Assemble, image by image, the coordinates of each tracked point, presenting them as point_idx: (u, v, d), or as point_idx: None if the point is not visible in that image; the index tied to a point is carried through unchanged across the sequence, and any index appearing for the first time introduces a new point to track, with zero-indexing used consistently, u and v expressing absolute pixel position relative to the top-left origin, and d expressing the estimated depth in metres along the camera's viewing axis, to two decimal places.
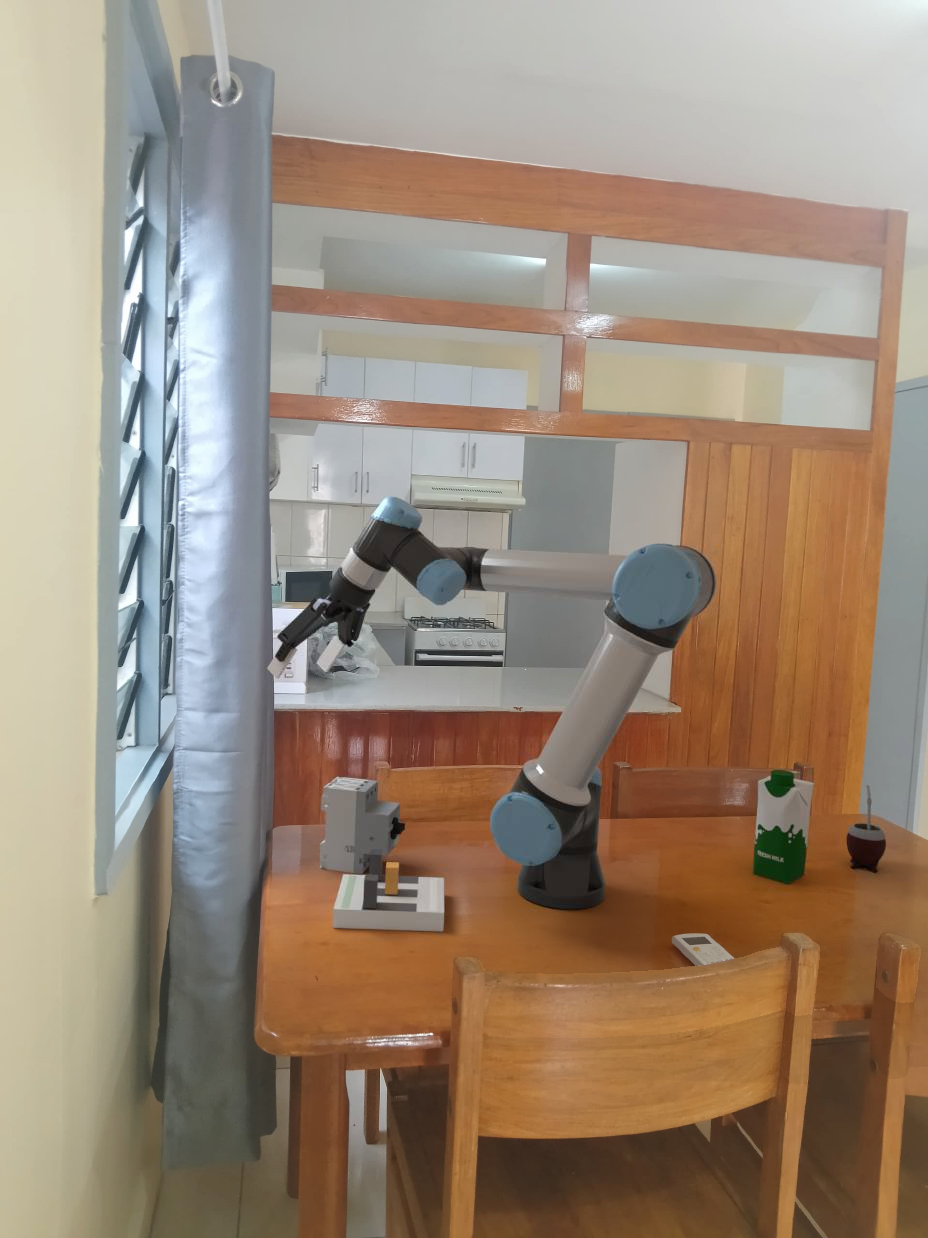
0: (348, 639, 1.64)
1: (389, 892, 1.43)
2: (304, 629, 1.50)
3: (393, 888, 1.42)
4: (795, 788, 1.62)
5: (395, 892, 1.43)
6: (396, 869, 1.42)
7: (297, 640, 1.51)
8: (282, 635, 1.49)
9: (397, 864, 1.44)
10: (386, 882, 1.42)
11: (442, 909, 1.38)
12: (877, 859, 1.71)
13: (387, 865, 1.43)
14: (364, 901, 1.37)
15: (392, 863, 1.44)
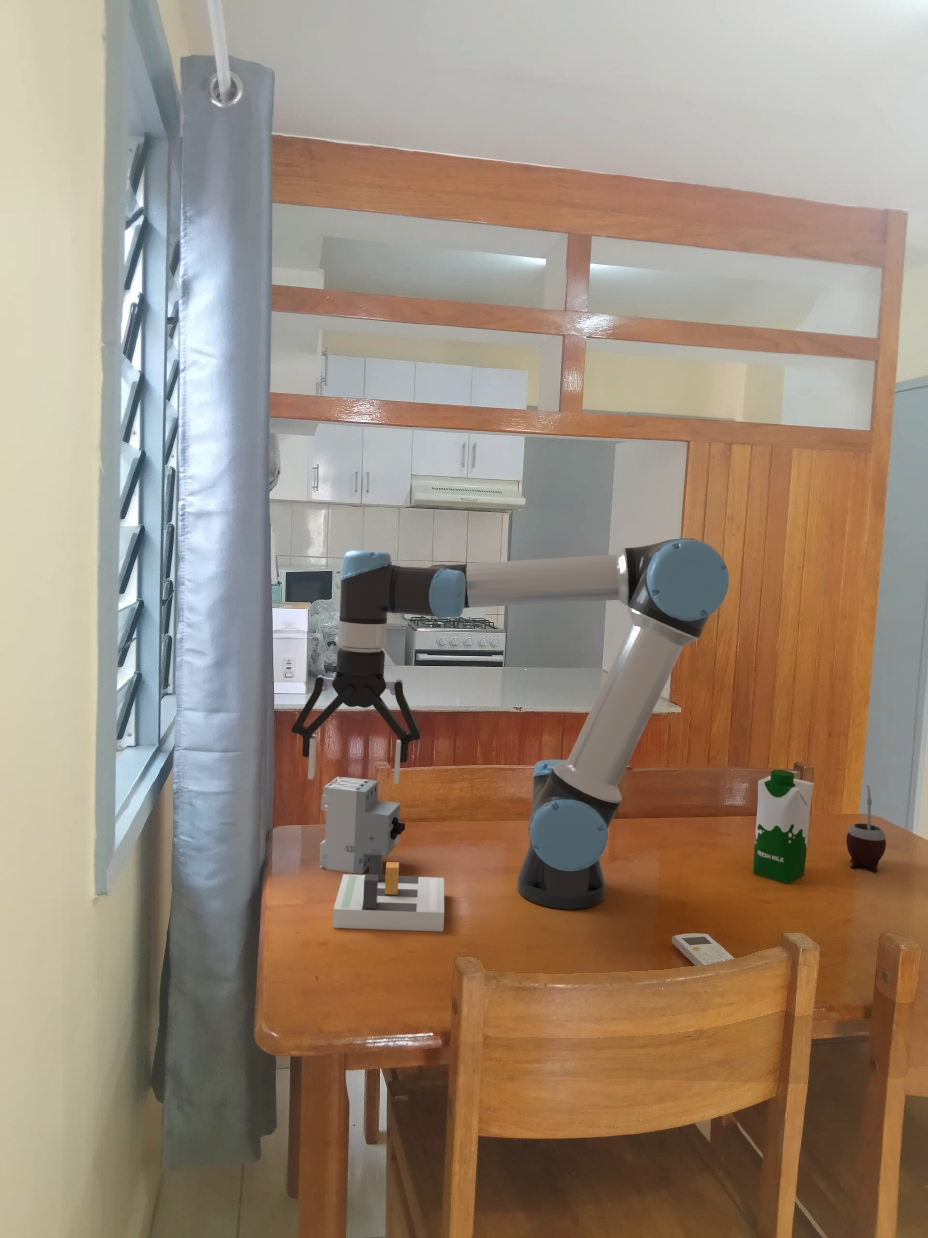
0: (401, 734, 1.41)
1: (389, 892, 1.43)
2: (306, 710, 1.40)
3: (393, 888, 1.42)
4: (795, 788, 1.62)
5: (395, 892, 1.43)
6: (396, 869, 1.42)
7: (308, 726, 1.41)
8: None
9: (397, 864, 1.44)
10: (386, 882, 1.42)
11: (442, 909, 1.38)
12: (877, 859, 1.71)
13: (387, 865, 1.43)
14: (364, 901, 1.37)
15: (392, 863, 1.44)
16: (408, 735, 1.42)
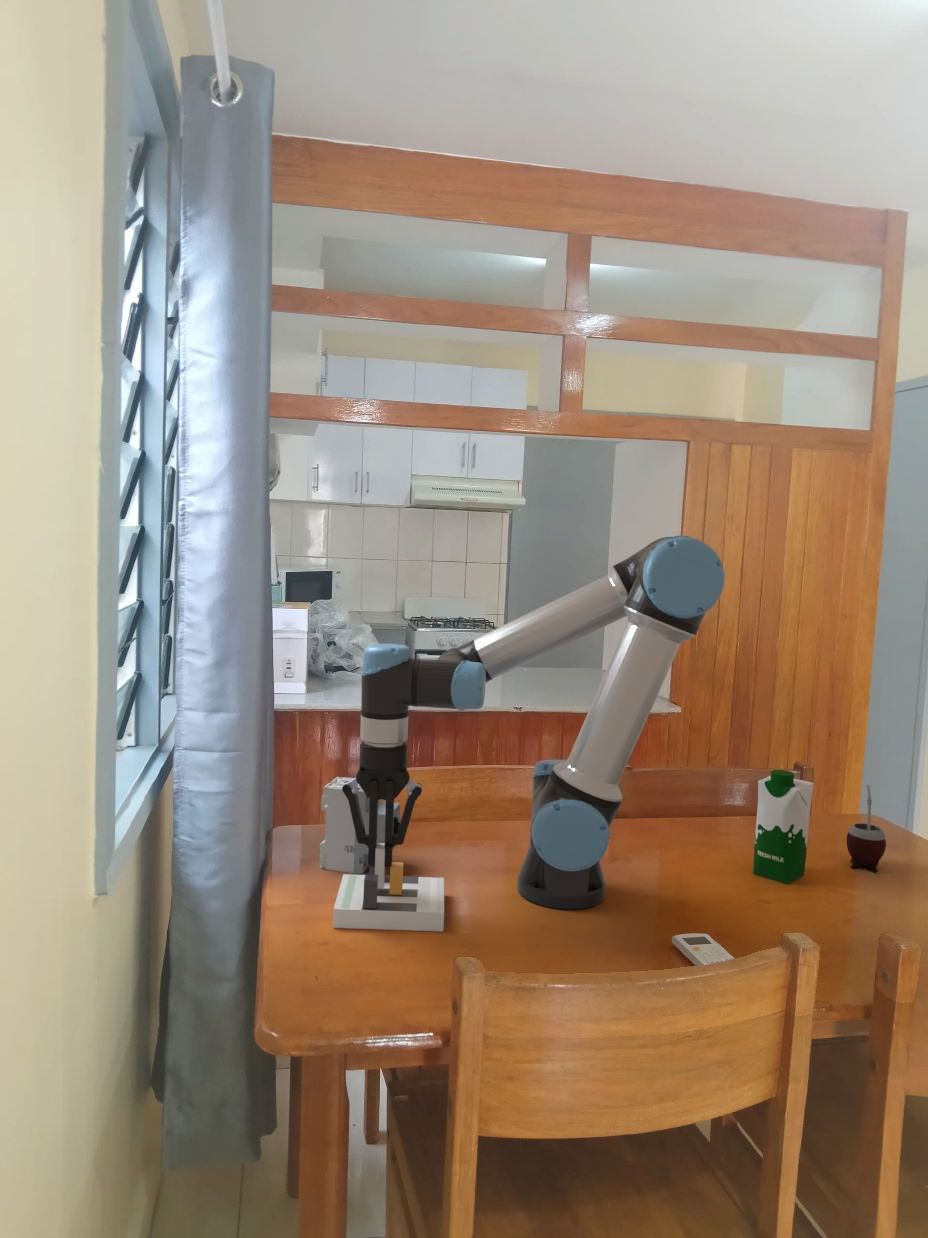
0: (389, 839, 1.42)
1: (393, 892, 1.43)
2: (356, 818, 1.41)
3: (397, 888, 1.42)
4: (795, 788, 1.62)
5: (399, 892, 1.43)
6: (400, 869, 1.42)
7: (368, 837, 1.42)
8: None
9: (401, 864, 1.44)
10: (390, 882, 1.42)
11: (442, 909, 1.38)
12: (877, 859, 1.71)
13: (391, 865, 1.43)
14: (364, 901, 1.37)
15: (396, 864, 1.44)
16: (393, 843, 1.42)
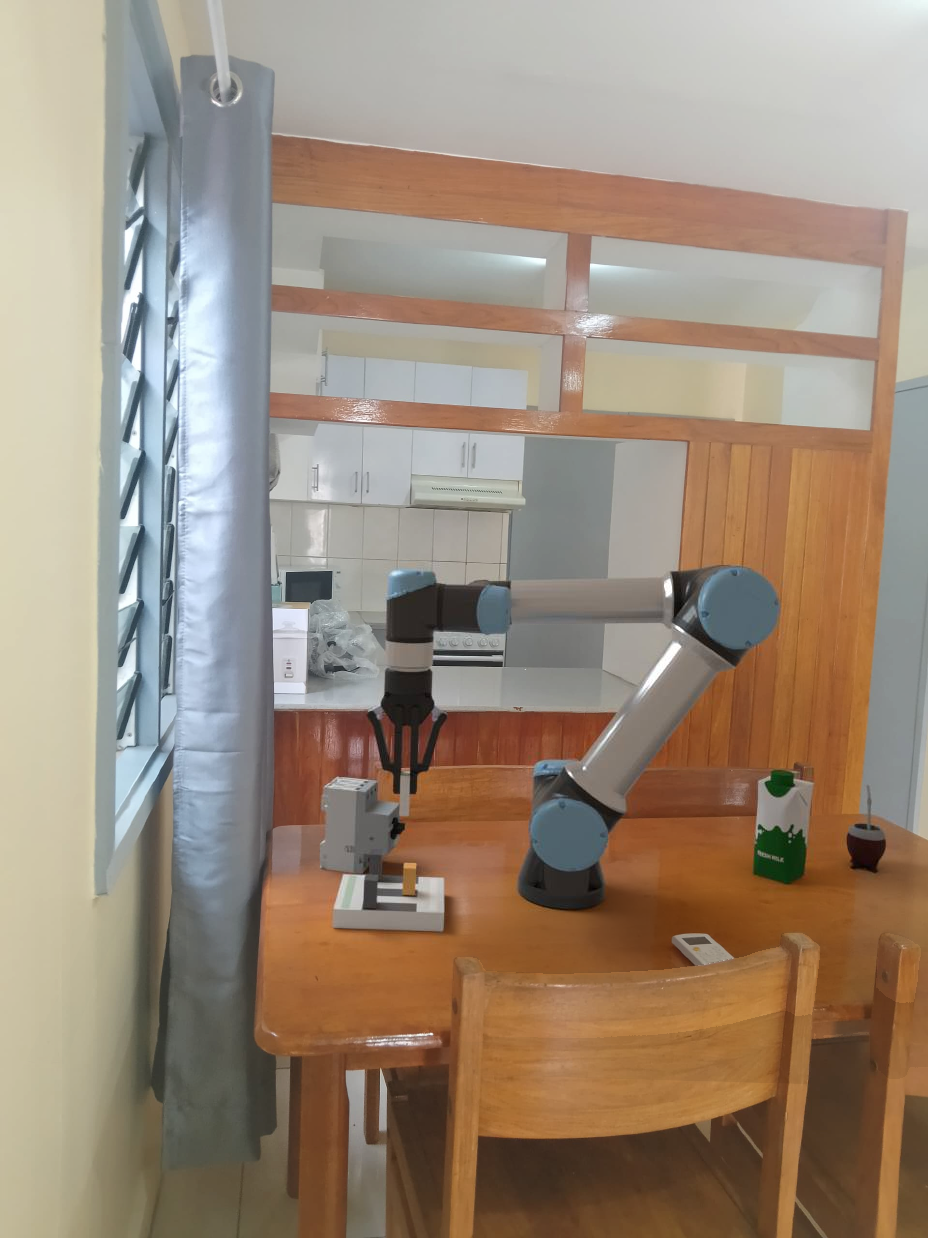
0: (414, 765, 1.41)
1: (407, 893, 1.43)
2: (381, 745, 1.40)
3: (411, 889, 1.43)
4: (795, 788, 1.62)
5: (413, 893, 1.43)
6: (414, 870, 1.42)
7: (393, 764, 1.41)
8: None
9: (414, 865, 1.44)
10: (404, 882, 1.42)
11: (442, 909, 1.38)
12: (877, 859, 1.71)
13: (404, 866, 1.43)
14: (364, 901, 1.37)
15: (409, 864, 1.44)
16: (419, 770, 1.41)
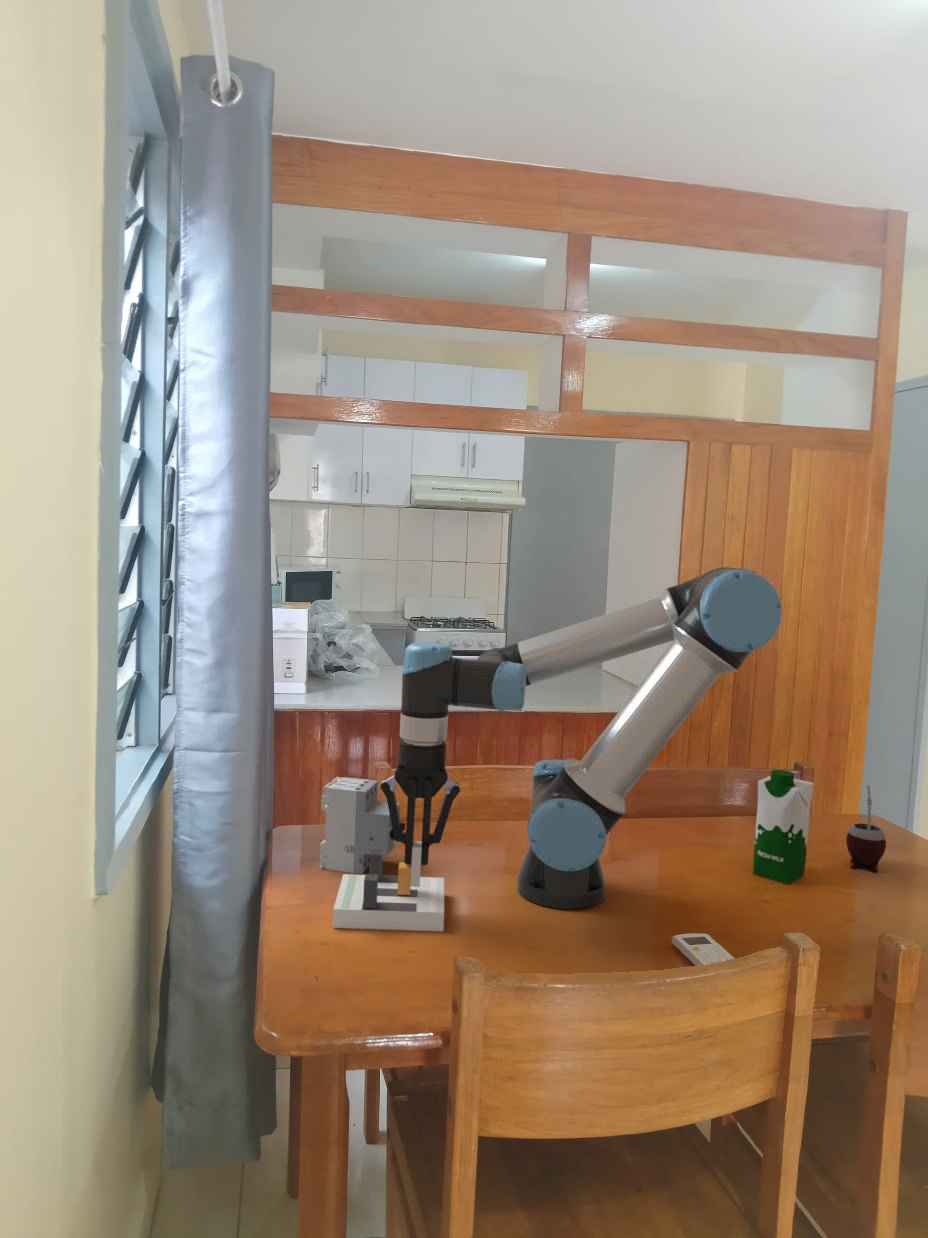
0: (426, 837, 1.42)
1: (402, 892, 1.43)
2: (393, 816, 1.41)
3: (406, 889, 1.43)
4: (795, 788, 1.62)
5: (408, 892, 1.43)
6: (409, 869, 1.42)
7: (405, 835, 1.42)
8: None
9: None
10: (399, 882, 1.42)
11: (442, 909, 1.38)
12: (877, 859, 1.71)
13: (400, 866, 1.43)
14: (364, 901, 1.37)
15: (405, 864, 1.44)
16: (430, 841, 1.42)
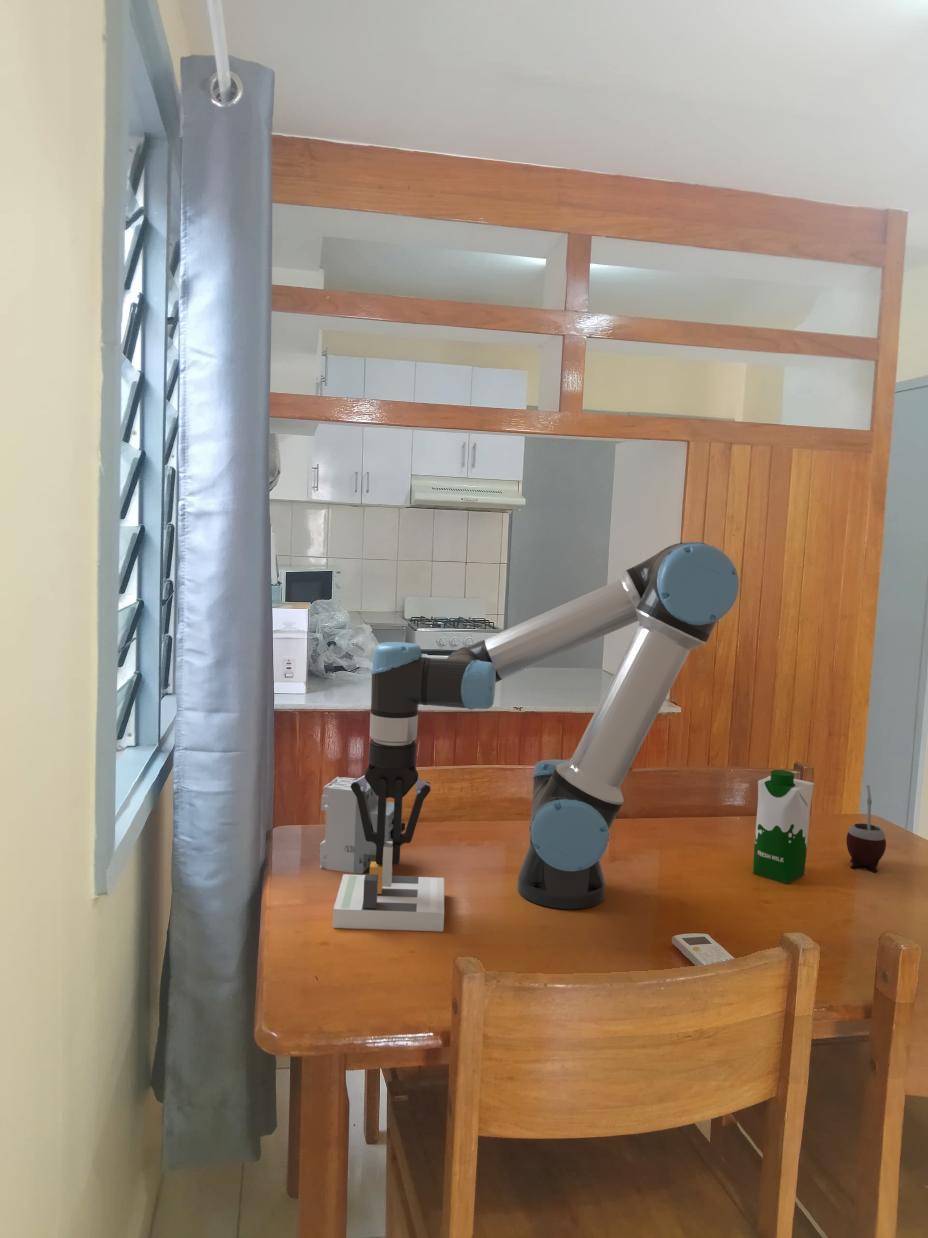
0: (397, 837, 1.42)
1: None
2: (364, 816, 1.41)
3: None
4: (795, 788, 1.62)
5: (379, 891, 1.42)
6: (380, 868, 1.42)
7: (376, 835, 1.42)
8: None
9: None
10: None
11: (442, 909, 1.38)
12: (877, 859, 1.71)
13: (371, 865, 1.43)
14: (364, 901, 1.37)
15: (376, 863, 1.44)
16: (401, 841, 1.42)
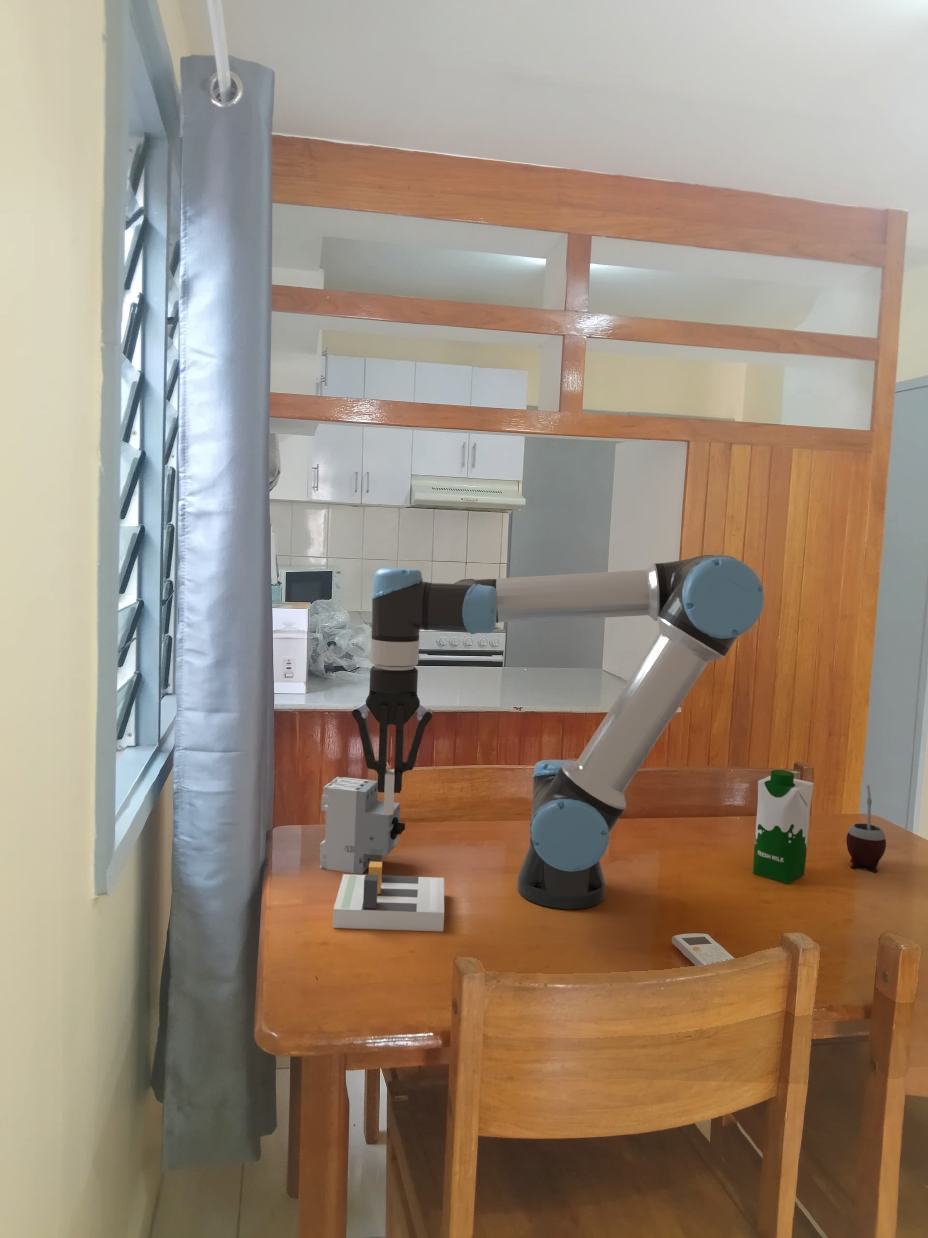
0: (399, 764, 1.41)
1: None
2: (365, 743, 1.40)
3: None
4: (795, 788, 1.62)
5: (378, 891, 1.42)
6: (379, 868, 1.42)
7: (378, 762, 1.41)
8: None
9: (380, 863, 1.44)
10: None
11: (442, 909, 1.38)
12: (877, 859, 1.71)
13: (370, 864, 1.43)
14: (364, 901, 1.37)
15: (375, 863, 1.44)
16: (403, 769, 1.41)
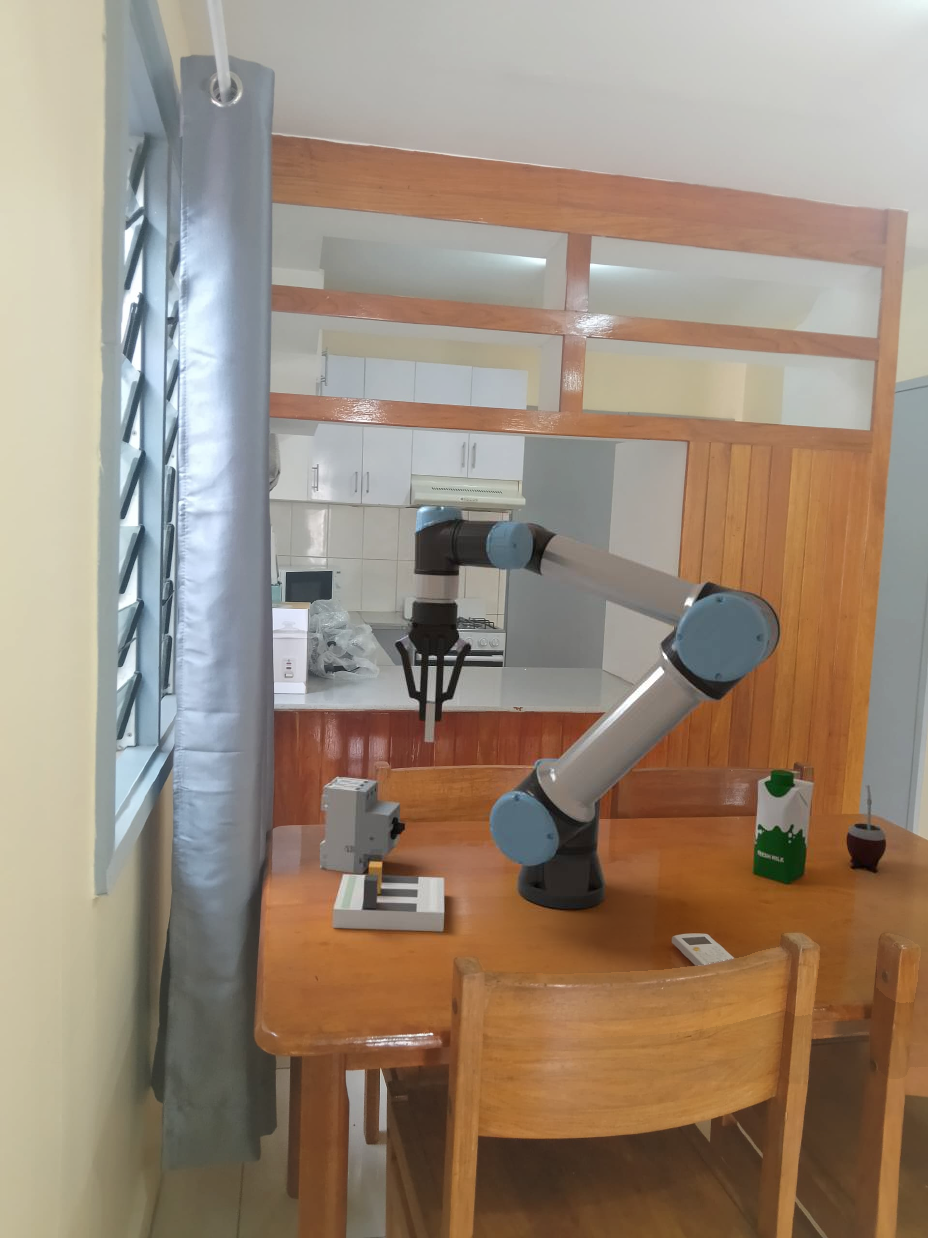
0: (439, 694, 1.48)
1: None
2: (408, 673, 1.47)
3: None
4: (795, 788, 1.62)
5: (378, 891, 1.42)
6: (379, 868, 1.42)
7: (419, 692, 1.48)
8: None
9: (380, 863, 1.44)
10: None
11: (442, 909, 1.38)
12: (877, 859, 1.71)
13: (370, 864, 1.43)
14: (364, 901, 1.37)
15: (375, 863, 1.44)
16: (443, 698, 1.48)
